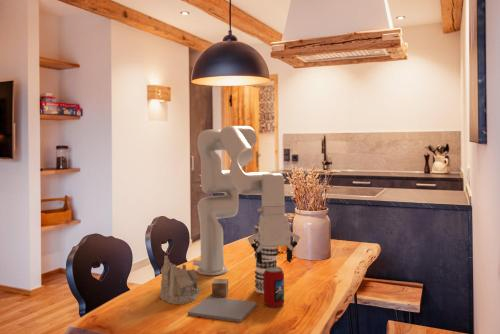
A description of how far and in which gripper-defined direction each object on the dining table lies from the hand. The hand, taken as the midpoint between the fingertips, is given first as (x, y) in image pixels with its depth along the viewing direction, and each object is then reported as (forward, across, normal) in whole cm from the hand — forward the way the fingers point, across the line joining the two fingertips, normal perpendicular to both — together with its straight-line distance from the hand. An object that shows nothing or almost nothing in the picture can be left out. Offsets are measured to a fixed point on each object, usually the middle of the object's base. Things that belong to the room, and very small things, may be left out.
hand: (274, 262), depth 147 cm
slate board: (+14, -17, -2) cm, 23 cm away
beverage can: (+14, 0, +1) cm, 15 cm away
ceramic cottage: (+14, -31, +15) cm, 37 cm away
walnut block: (+14, -18, +13) cm, 26 cm away
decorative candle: (+14, 0, +16) cm, 21 cm away
